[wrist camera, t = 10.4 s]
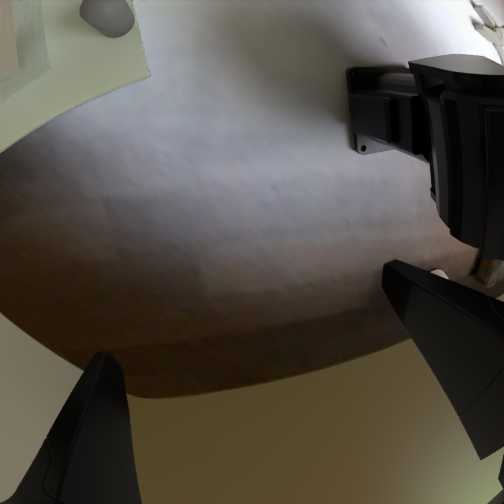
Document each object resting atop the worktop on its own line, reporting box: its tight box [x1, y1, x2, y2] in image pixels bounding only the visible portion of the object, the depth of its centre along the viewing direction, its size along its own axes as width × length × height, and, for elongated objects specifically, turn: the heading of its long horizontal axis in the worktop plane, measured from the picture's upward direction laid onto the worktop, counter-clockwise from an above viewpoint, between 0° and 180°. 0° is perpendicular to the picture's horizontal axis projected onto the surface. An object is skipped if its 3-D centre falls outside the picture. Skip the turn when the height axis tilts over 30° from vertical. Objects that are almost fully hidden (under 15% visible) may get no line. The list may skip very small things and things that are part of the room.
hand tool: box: [473, 260, 502, 288], centre depth 27 cm, size 19×4×5 cm, turn 5°
